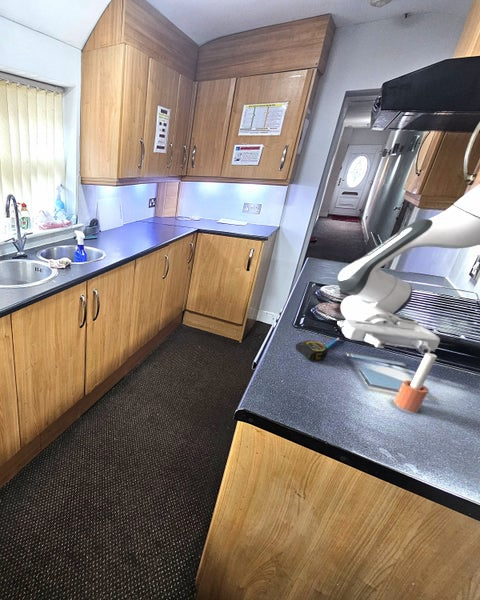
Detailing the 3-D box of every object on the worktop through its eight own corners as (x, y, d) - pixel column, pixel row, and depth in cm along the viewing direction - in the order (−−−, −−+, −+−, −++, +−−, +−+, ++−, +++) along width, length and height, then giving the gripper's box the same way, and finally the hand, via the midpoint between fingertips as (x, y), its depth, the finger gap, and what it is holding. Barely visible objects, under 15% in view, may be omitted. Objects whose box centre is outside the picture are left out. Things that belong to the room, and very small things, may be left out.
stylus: (409, 403, 79) (434, 353, 73) (412, 408, 77) (438, 357, 72) (399, 401, 79) (424, 352, 74) (403, 406, 78) (428, 356, 72)
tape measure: (293, 350, 102) (295, 340, 100) (315, 348, 101) (317, 338, 100) (307, 363, 95) (310, 353, 94) (331, 361, 95) (334, 350, 94)
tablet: (402, 364, 95) (403, 362, 95) (437, 402, 80) (438, 399, 80) (345, 354, 100) (346, 351, 100) (367, 388, 85) (368, 385, 84)
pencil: (339, 340, 107) (340, 338, 107) (316, 357, 99) (317, 355, 98) (336, 339, 108) (337, 337, 108) (313, 356, 99) (314, 354, 99)
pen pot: (412, 403, 80) (422, 383, 77) (421, 415, 76) (433, 394, 73) (390, 398, 81) (399, 378, 79) (398, 409, 77) (408, 389, 75)
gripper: (338, 310, 97) (359, 331, 85) (423, 320, 91) (459, 344, 79) (331, 329, 99) (351, 352, 87) (414, 340, 94) (447, 366, 82)
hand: (403, 348), depth 83 cm, fingers open, 8 cm apart
